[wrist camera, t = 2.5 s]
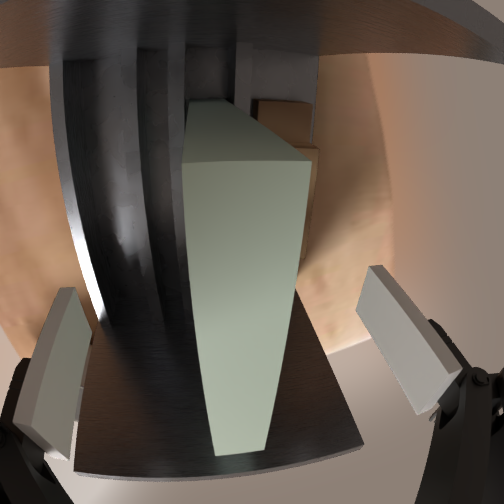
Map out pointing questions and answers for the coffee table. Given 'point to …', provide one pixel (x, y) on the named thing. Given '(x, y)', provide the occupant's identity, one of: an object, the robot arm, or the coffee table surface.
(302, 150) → the offcut upper
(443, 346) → the robot arm
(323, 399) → the rack
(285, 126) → the offcut lower
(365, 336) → the coffee table surface
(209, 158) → the sage panel
